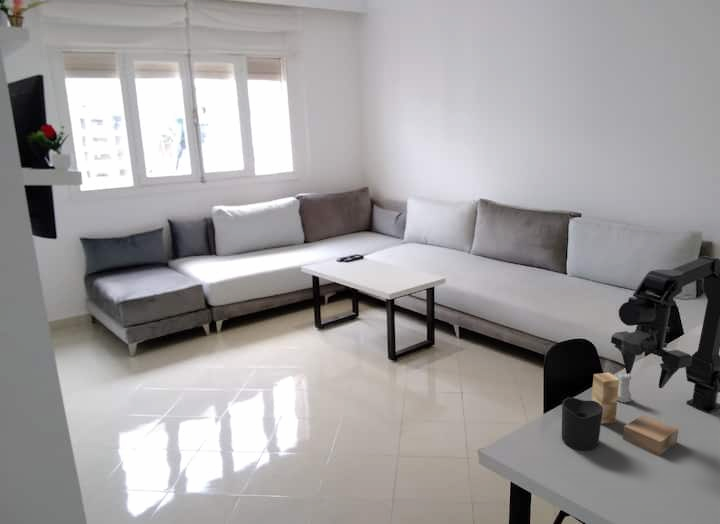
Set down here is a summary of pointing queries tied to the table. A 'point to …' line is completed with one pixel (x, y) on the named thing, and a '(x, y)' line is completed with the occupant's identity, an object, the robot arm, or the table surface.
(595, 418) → the pen holder
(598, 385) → the oak pillar
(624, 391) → the rook chess piece
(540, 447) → the table surface
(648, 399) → the table surface
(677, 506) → the table surface
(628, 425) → the light brown block
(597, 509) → the table surface
